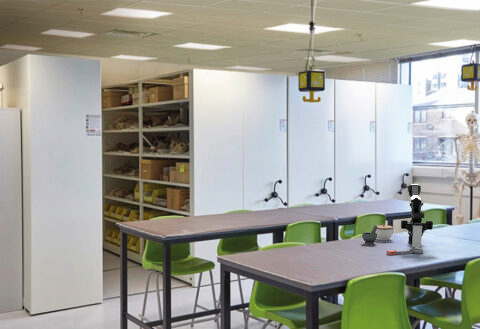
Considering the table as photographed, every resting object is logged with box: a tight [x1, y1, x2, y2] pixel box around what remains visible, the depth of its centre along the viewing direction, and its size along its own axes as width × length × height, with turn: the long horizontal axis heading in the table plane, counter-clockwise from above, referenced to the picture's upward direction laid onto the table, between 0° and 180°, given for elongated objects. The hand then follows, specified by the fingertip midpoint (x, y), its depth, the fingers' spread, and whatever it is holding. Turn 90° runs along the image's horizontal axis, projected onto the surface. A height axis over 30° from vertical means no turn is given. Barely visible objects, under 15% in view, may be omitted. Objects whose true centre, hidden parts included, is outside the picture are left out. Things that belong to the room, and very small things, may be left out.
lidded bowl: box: [375, 223, 394, 242], centre depth 411 cm, size 13×13×11 cm
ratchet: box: [386, 247, 424, 256], centre depth 359 cm, size 23×7×5 cm, turn 104°
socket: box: [411, 225, 423, 249], centre depth 361 cm, size 5×5×13 cm
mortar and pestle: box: [361, 225, 378, 246], centre depth 395 cm, size 11×9×12 cm
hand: (417, 236), depth 360 cm, fingers closed on socket, 5 cm apart
